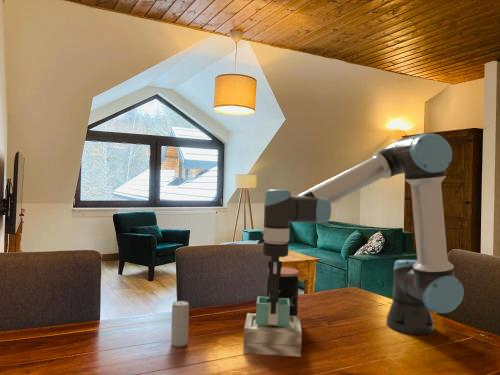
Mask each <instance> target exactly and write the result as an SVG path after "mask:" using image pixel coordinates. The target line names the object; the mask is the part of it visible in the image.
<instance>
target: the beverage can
mask: <svg viewBox="0 0 500 375" xmlns="http://www.w3.org/2000/svg"><path fill="white" fill-rule="evenodd" d="M189 311H190V304H189V302H188V301H186V300H176V301H174V302H172V307H171V338H170V340H171V345H172V346H173V347H178V348H181V347H185V346H186V345H187V344H188V342H189V318H190V317H189V315H190V314H189V313H190V312H189Z"/></svg>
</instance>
